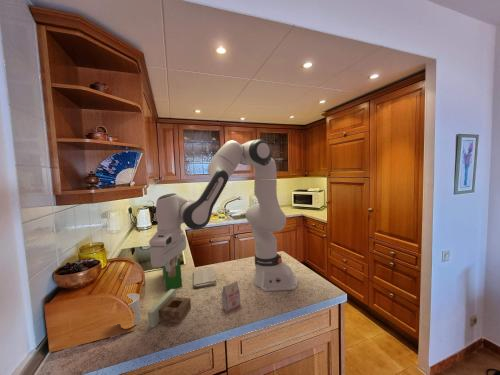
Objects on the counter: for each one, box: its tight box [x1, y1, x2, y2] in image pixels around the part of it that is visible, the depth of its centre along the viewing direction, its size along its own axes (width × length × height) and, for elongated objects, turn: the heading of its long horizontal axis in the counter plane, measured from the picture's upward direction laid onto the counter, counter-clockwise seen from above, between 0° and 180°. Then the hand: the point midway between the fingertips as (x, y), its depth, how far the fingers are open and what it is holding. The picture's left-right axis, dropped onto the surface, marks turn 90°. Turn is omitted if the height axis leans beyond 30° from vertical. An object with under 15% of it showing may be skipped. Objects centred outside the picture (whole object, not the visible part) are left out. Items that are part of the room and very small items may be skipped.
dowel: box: [168, 257, 176, 277], centre depth 87 cm, size 3×3×8 cm
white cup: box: [126, 292, 141, 326], centre depth 85 cm, size 8×8×10 cm
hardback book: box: [161, 253, 183, 292], centre depth 115 cm, size 18×7×24 cm, turn 27°
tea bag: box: [221, 281, 242, 313], centre depth 92 cm, size 4×7×10 cm, turn 126°
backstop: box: [147, 289, 177, 328], centre depth 90 cm, size 2×16×6 cm, turn 169°
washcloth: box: [192, 267, 217, 290], centre depth 117 cm, size 12×18×3 cm, turn 16°
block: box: [159, 296, 192, 324], centre depth 89 cm, size 9×9×4 cm
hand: (171, 268), depth 87 cm, fingers closed on dowel, 3 cm apart
